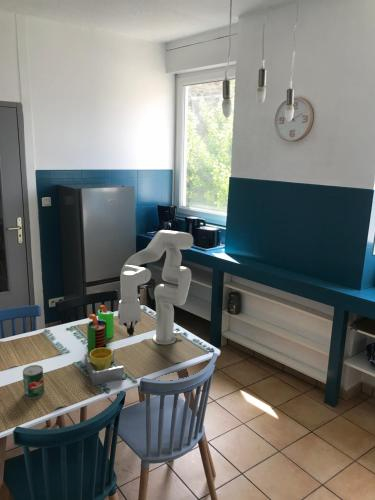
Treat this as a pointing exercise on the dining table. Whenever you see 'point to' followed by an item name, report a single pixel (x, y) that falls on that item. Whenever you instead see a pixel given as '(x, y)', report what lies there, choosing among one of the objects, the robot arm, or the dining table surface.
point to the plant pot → (101, 358)
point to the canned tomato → (33, 381)
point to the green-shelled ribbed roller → (109, 318)
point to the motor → (96, 333)
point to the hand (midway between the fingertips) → (130, 334)
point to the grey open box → (103, 372)
